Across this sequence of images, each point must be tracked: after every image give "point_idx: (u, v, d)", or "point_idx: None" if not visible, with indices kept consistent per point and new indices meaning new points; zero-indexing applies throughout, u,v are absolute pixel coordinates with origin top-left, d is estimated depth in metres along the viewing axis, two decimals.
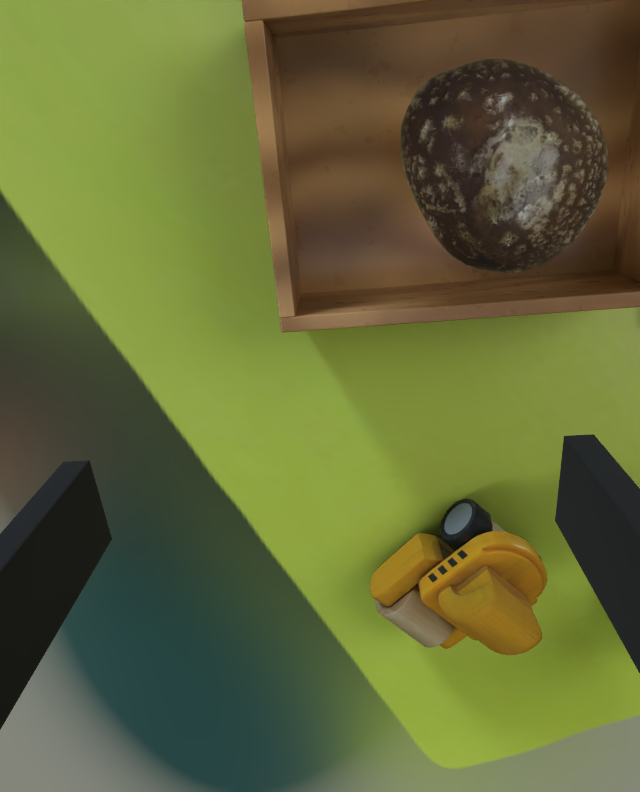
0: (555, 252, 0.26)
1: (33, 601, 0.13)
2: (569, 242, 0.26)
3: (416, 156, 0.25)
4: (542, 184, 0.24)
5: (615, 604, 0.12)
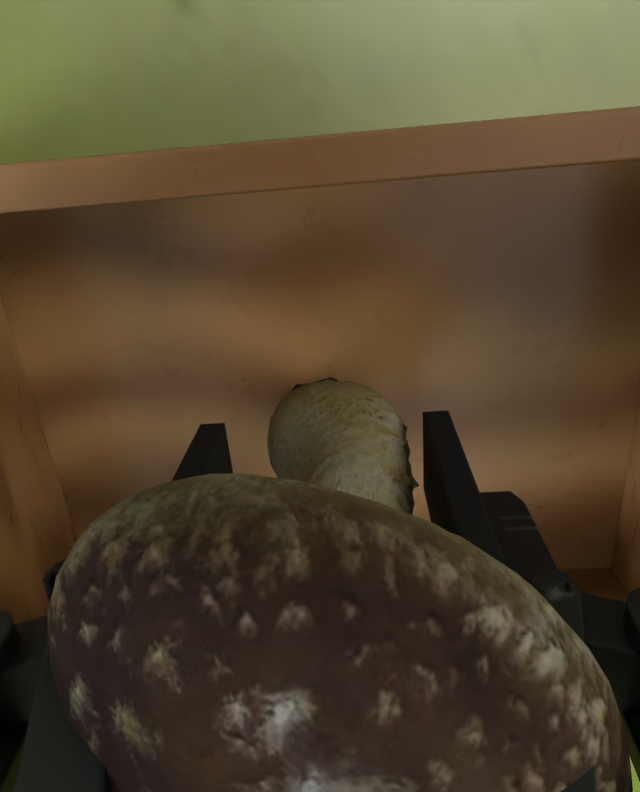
0: None
1: None
2: None
3: None
4: None
5: None
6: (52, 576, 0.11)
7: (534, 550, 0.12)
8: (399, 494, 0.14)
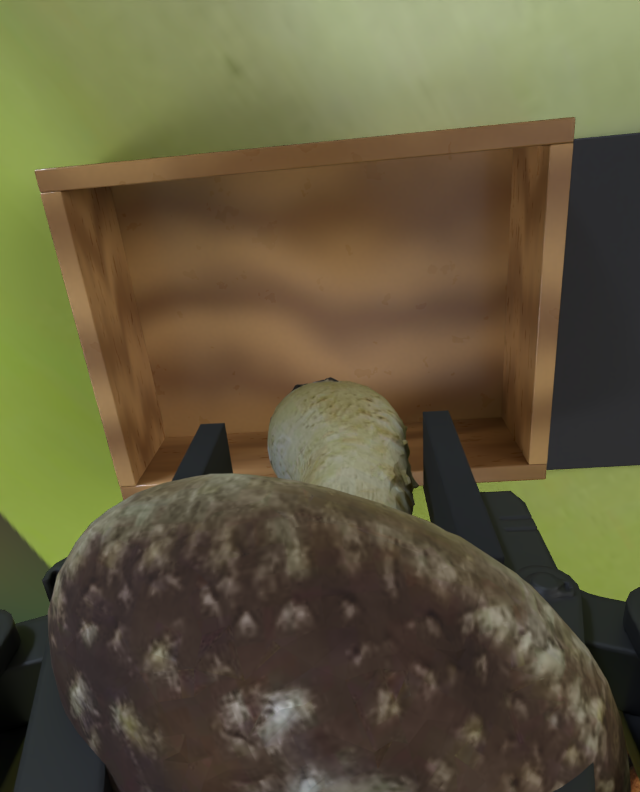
0: None
1: None
2: None
3: None
4: None
5: None
6: (52, 576, 0.11)
7: (534, 550, 0.12)
8: (399, 494, 0.14)
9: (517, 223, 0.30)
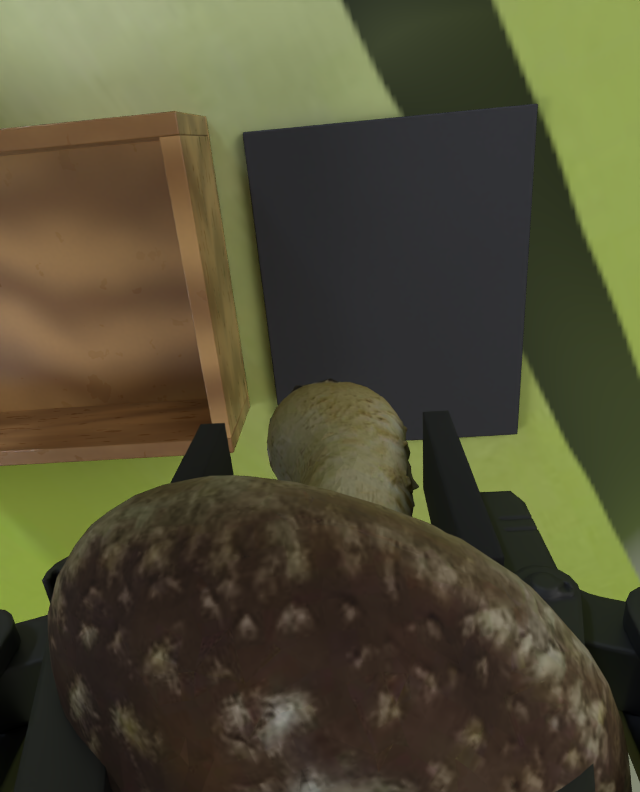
0: None
1: None
2: None
3: None
4: None
5: None
6: (53, 576, 0.11)
7: (534, 550, 0.12)
8: (399, 496, 0.14)
9: None
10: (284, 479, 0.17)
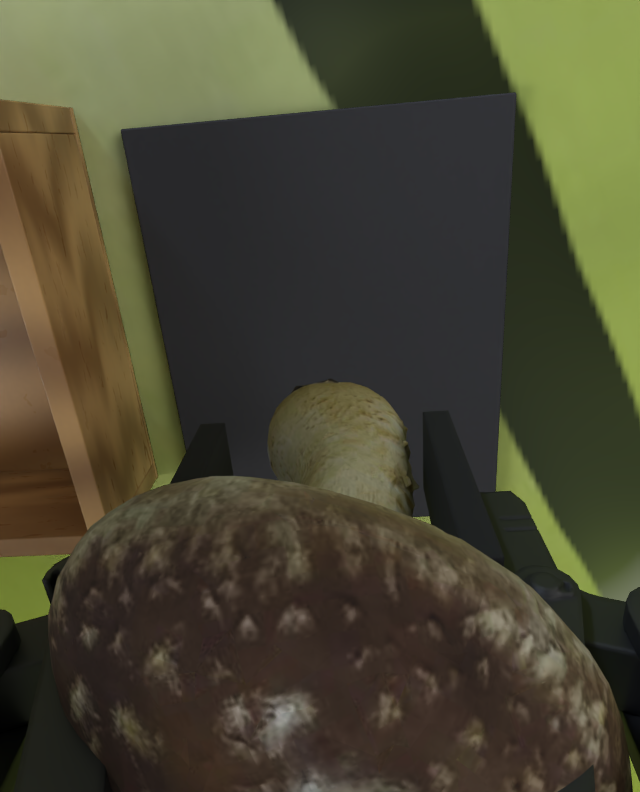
0: None
1: None
2: None
3: None
4: None
5: None
6: (53, 576, 0.11)
7: (534, 550, 0.12)
8: (400, 496, 0.14)
9: None
10: (284, 479, 0.17)
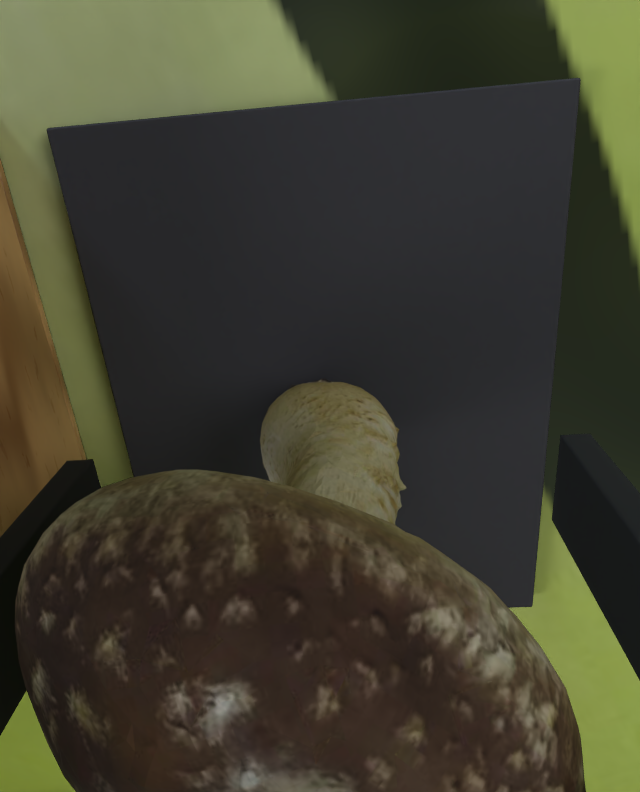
0: None
1: None
2: None
3: (39, 721, 0.09)
4: None
5: (610, 602, 0.12)
6: None
7: None
8: (382, 495, 0.14)
9: None
10: (273, 477, 0.17)
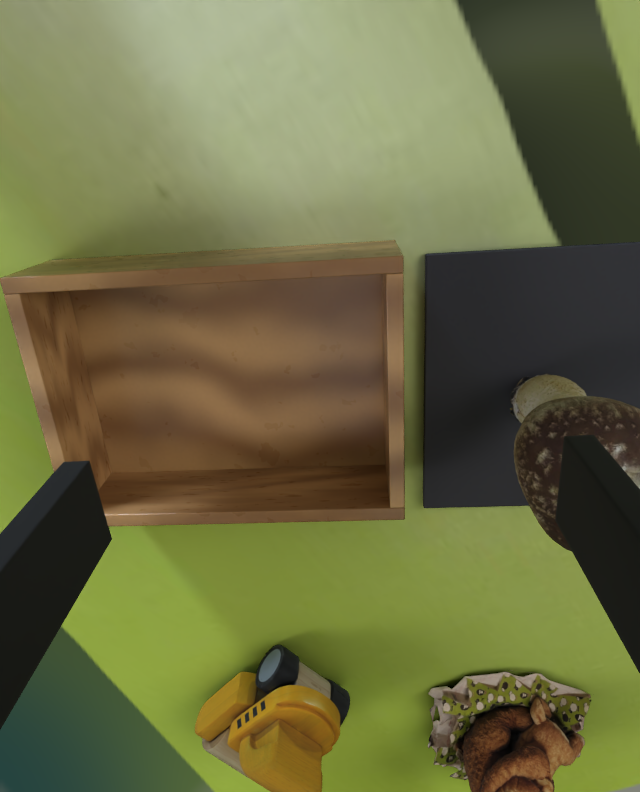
0: None
1: (33, 600, 0.13)
2: None
3: (532, 472, 0.29)
4: None
5: (615, 604, 0.12)
6: None
7: None
8: None
9: None
10: None
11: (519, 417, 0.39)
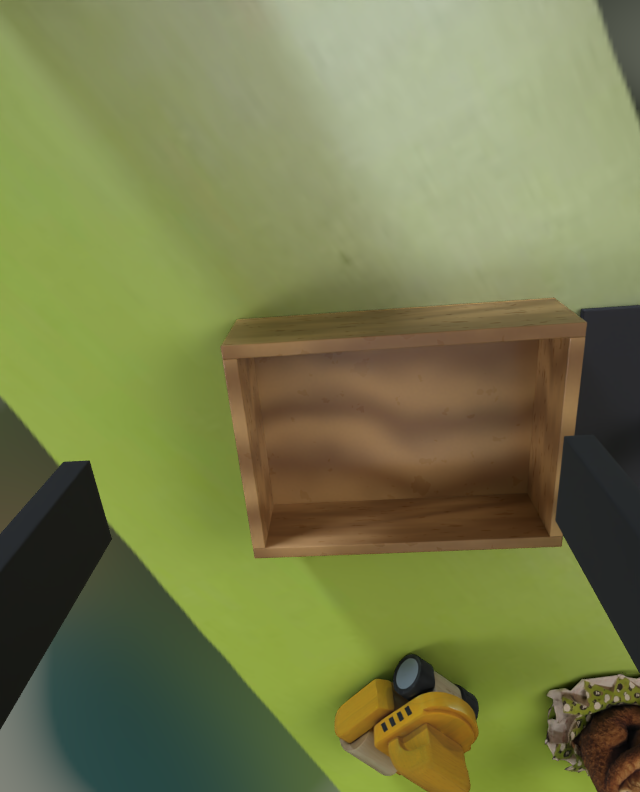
0: None
1: (33, 601, 0.13)
2: None
3: None
4: None
5: (615, 604, 0.12)
6: None
7: None
8: None
9: (543, 367, 0.42)
10: None
11: None
